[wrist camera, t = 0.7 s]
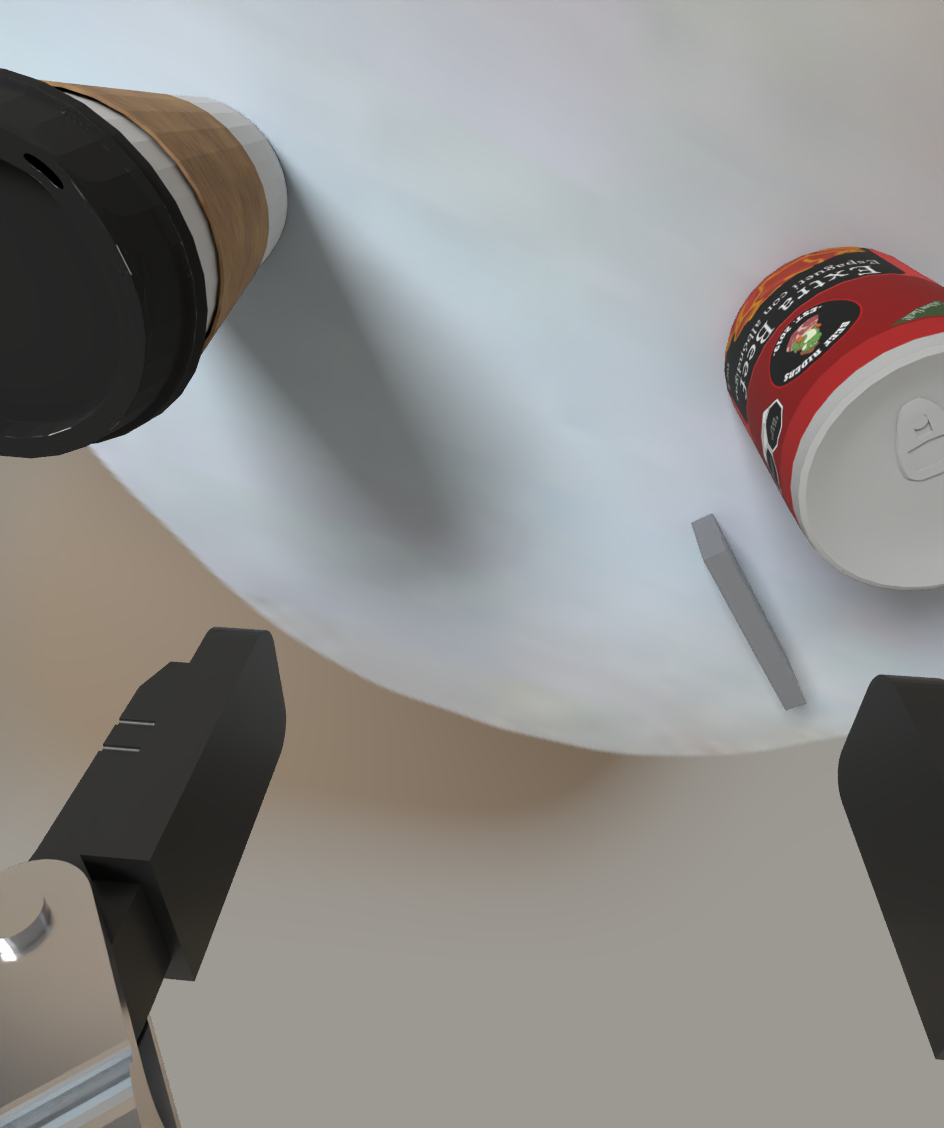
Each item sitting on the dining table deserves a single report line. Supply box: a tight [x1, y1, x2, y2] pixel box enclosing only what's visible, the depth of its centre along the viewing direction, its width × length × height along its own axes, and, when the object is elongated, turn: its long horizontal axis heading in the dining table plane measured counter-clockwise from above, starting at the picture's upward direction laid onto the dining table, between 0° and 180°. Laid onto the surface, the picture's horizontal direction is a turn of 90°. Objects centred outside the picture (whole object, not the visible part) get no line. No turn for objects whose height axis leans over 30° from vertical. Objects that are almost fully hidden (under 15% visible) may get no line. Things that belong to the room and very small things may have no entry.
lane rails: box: [691, 514, 806, 710], centre depth 34 cm, size 15×10×3 cm, turn 122°
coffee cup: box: [0, 68, 288, 458], centre depth 23 cm, size 8×8×15 cm
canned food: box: [725, 247, 944, 590], centre depth 26 cm, size 8×8×11 cm
